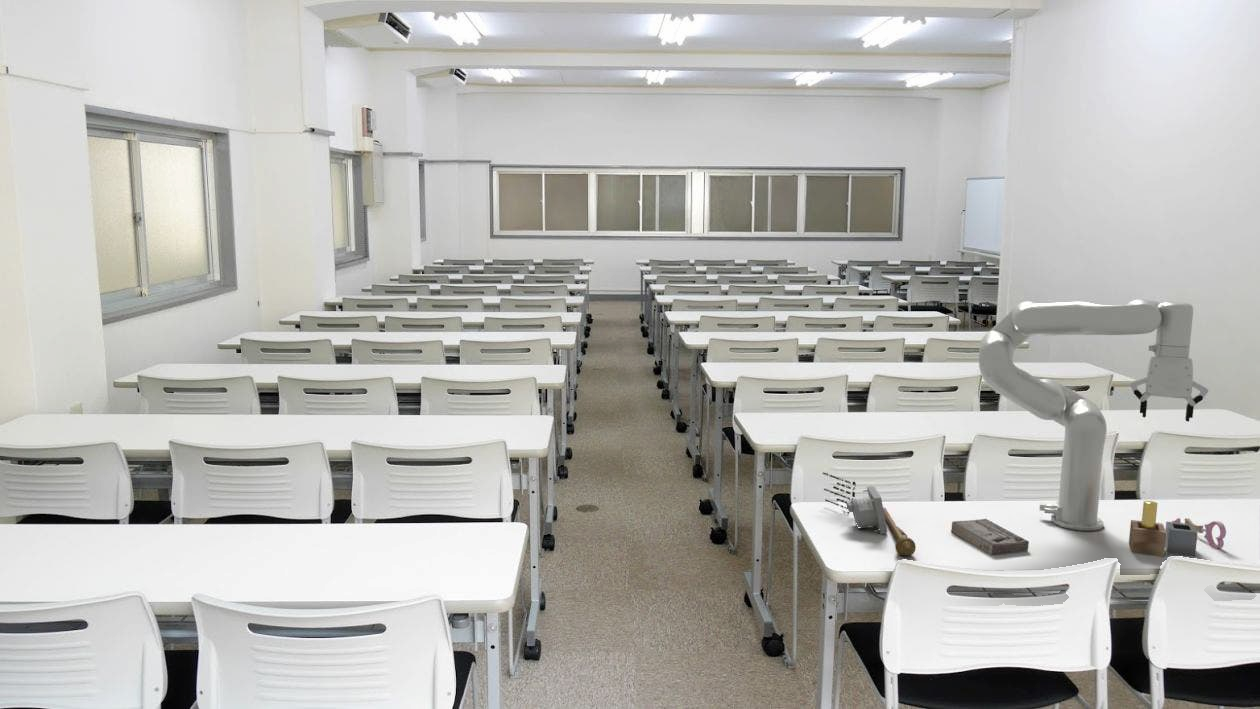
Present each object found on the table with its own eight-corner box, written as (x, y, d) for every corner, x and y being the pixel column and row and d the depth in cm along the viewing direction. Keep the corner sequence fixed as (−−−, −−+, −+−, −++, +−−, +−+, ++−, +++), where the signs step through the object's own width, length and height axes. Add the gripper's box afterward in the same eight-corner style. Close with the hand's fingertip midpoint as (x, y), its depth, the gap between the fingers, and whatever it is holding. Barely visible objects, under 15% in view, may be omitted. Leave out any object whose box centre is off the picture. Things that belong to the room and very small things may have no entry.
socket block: (1166, 552, 238) (1169, 529, 237) (1163, 544, 243) (1166, 521, 242) (1195, 556, 236) (1197, 532, 235) (1191, 547, 241) (1193, 524, 240)
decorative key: (1173, 534, 258) (1226, 550, 239) (1169, 534, 258) (1221, 550, 239) (1173, 509, 258) (1226, 523, 239) (1169, 509, 258) (1221, 523, 239)
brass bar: (1139, 550, 239) (1144, 503, 237) (1138, 546, 242) (1143, 500, 240) (1153, 552, 238) (1158, 505, 236) (1152, 548, 241) (1156, 501, 239)
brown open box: (1131, 552, 238) (1133, 528, 237) (1128, 542, 244) (1131, 519, 243) (1163, 556, 235) (1166, 532, 234) (1160, 546, 242) (1162, 523, 241)
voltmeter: (902, 531, 252) (904, 494, 250) (870, 539, 246) (872, 501, 244) (829, 502, 274) (830, 468, 272) (798, 510, 268) (800, 475, 266)
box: (984, 529, 255) (985, 517, 254) (1029, 553, 238) (1030, 540, 238) (949, 532, 252) (950, 521, 251) (991, 556, 235) (992, 544, 235)
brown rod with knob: (873, 517, 267) (890, 519, 267) (896, 559, 233) (916, 562, 232) (875, 500, 267) (893, 502, 266) (899, 540, 232) (919, 542, 232)
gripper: (1133, 351, 245) (1127, 417, 248) (1213, 356, 237) (1205, 425, 240) (1133, 346, 251) (1127, 411, 254) (1210, 352, 244) (1204, 418, 246)
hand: (1165, 418), depth 247 cm, fingers open, 9 cm apart
